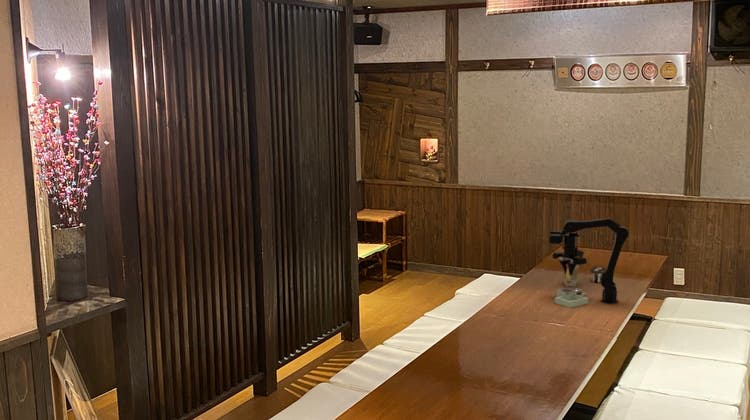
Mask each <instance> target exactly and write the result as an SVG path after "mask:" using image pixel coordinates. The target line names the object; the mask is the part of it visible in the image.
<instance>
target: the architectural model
mask: <svg viewBox="0 0 750 420" xmlns="http://www.w3.org/2000/svg"><path fill="white" fill-rule="evenodd" d="M606 268H607V267H601V266H599V265H598V266H594V267H593V268H591V269H590V270H589V272H590V273H591V274H592V283H595V282H596V281H597V283H601V281H600V278H599V277H600V276H601V272H602V270H603V271H605V269H606Z"/></svg>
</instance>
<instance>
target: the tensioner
mask: <svg viewBox="0 0 750 420" xmlns="http://www.w3.org/2000/svg"><path fill="white" fill-rule="evenodd" d="M568 294H576V295H580V296H583V297H586V296H587V295H588V294H587V293H586V292H583V290H582V289H581V288H578V287H575V288H571V289H570V288H568V287H565V288H564V287H563V288H559V289H556V297H559V296H564V295H568Z"/></svg>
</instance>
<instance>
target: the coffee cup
mask: <svg viewBox="0 0 750 420" xmlns="http://www.w3.org/2000/svg"><path fill="white" fill-rule="evenodd" d="M575 258H577V257H575ZM570 262H571V260H570ZM570 262H569V263H570ZM579 269H580V265H576V267H575V269H574V271H573V273H572V275H571V283H570V284H567V283H566V274H565V271H564V269H563V268H562V271H563V272H562V273H563V281H564V286H567V287H576V286H577V283H578V282H577V281H578V276H579V272H580V270H579Z"/></svg>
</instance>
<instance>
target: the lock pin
mask: <svg viewBox="0 0 750 420" xmlns="http://www.w3.org/2000/svg"><path fill="white" fill-rule="evenodd" d="M566 266H567V268H566V283H567V284H570V283H571V275H570V274H569V268H568V263H567V264H566Z"/></svg>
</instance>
